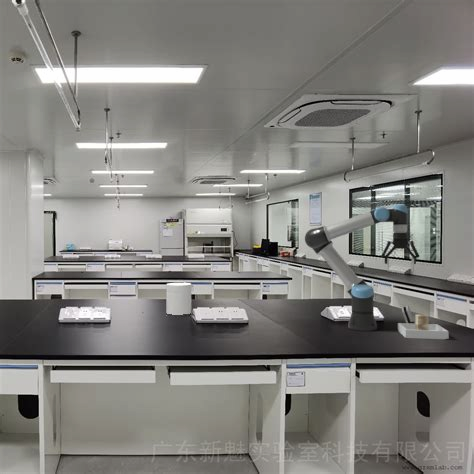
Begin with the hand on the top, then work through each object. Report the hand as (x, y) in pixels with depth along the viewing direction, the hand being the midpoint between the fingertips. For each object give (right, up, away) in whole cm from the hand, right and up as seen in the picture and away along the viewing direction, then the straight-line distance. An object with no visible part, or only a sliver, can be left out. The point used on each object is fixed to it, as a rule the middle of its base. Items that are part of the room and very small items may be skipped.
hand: (400, 269), depth 243 cm
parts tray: (+3, -32, -23) cm, 39 cm away
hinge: (+11, -32, +16) cm, 38 cm away
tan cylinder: (+3, -31, -23) cm, 38 cm away
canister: (-130, -32, +35) cm, 139 cm away
